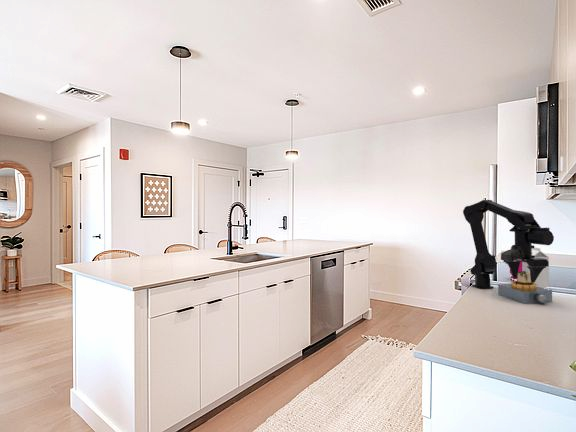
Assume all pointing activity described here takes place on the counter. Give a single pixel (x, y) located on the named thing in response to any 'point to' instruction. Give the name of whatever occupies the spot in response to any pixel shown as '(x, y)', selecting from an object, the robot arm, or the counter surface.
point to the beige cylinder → (523, 278)
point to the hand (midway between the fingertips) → (523, 280)
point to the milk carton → (544, 275)
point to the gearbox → (525, 293)
